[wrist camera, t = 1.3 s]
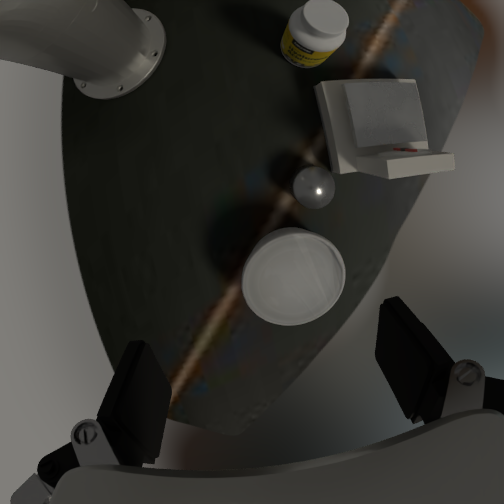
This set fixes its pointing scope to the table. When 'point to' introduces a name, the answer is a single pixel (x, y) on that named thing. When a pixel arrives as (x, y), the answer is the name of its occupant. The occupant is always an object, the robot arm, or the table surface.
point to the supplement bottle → (314, 33)
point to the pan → (384, 113)
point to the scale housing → (372, 157)
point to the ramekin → (292, 276)
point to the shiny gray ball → (312, 186)
